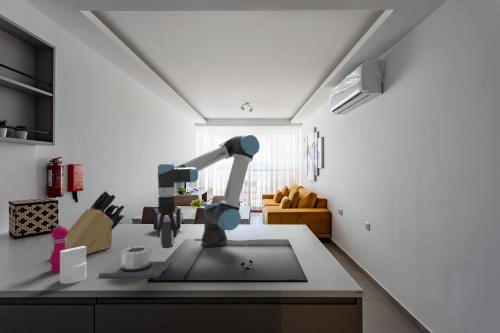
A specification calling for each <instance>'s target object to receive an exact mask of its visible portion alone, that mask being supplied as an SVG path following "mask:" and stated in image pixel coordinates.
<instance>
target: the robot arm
mask: <svg viewBox="0 0 500 333" xmlns="http://www.w3.org/2000/svg"><path fill="white" fill-rule="evenodd" d="M259 151H260V142H259V140H258V138H257V137H256V136H255V135H253V134H248V133H247V134H243V135H238V136H237V135H236V136H233V137H231V138H229V139H227V140H226V141H224V142H222V143H220V144H218V147H216V148H213V149H212V150H209V151H207V152H204V153H203V154H201V155H199V156H197V157H194V158H193V159H190V160H189V161H186V162H184V163H182V164H179V165H178V166H176V167H175V165H174V163H159V165H158V167H157V184H158V186H157V195H158V197H157V198H158V199H157V200H158V206H157V207H156V208H152V210H151V211H152V214H153V230H154V231H157V237H158V239H159V246H162V222H163V221H164V217H165V215H168V216H169V218H170V221H171V225H172V229H173V231H171V237H172V245H173V246H174V245H175V243H176V237H177V235H178V230H180V229H181V225H180V212H182V208H181V207H180V208H178V207H176V204H175V203H176V201H175V200H176V199H175V194H176V193H175V184H181V183H183V184H184V183H185V184H187V183H190V184H191V183H195V182H197V181H198V179H199V172H200V171H202V170H204V169H206V168H209V167H210V166H212V165H215V164H216V163H218V162H220V161H222V160H224V159H225V160H228V159H230V158H233V162H232V165H231V170H230V173H229V176H228V179H227V184H226V188H225V191H224V194H223V198H222V200H220V201H219V203H210V204H209V203H207V204H205V205H204V206H203V207H204V208H203V212H204V214H203V215H204V218H203V220H204V222H203V223H204V225H203V226H204V227H203V228H204V229H203V230H204V231H203V233H202V236H201V241H200V242H201V243H202V244H203V246H204V247H220V246H221V247H222V246H225V245H227V244H228V237H227V232H226V231H233V230H235V229H237V227H239V225H240V223H241V219H242V218H241V213H240V205H239V201H240V198H241V194H242V191H243V190H242V189H243V187H244V183H245V178H246V174H247V172H248V167H249V164H250V163H251V162H253V160H254V155H256V154H258V152H259ZM173 212H176V223H175V220H174V215H173ZM158 213H161V215H160V221H159V225H158ZM176 226H177V227H176ZM201 243H200V244H201ZM202 244H201V245H202Z"/></svg>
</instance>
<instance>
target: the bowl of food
mask: <svg viewBox="0 0 500 333" xmlns="http://www.w3.org/2000/svg"><path fill="white" fill-rule="evenodd" d="M160 215H161V213H160V212H158V225H159V221H160ZM173 215H174V220H175V223H176V211H174V212H173ZM183 217H184V212H182V211H181V212H180V226H181V225H182V221H183ZM164 221H170V218H169V216H168V215H165V217H164ZM176 227H177V226H176Z"/></svg>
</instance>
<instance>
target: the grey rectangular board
mask: <svg viewBox="0 0 500 333" xmlns="http://www.w3.org/2000/svg"><path fill="white" fill-rule="evenodd" d="M170 262H171V261H153V260H152V263H151V267H150V268H148V269H146V270H143V271H139V272H124V271H122V270H121V260H118V261H116V262H115V263H113V264H111V265H110V266H108V267H107V268H105V269H103V270H102V271H101V272H99V273H98V274H99V276H98V277H99V278H141V279H142V278H145V279H147V278H148V279H149V278H150V279H151V278H152V279H156V278H159V277H160V276H161V275H162V274H163V273H164V272H163V271H166V270H167V268H168V267H170ZM162 272H163V273H162Z"/></svg>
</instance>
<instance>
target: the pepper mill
mask: <svg viewBox="0 0 500 333" xmlns="http://www.w3.org/2000/svg"><path fill="white" fill-rule="evenodd" d="M68 231H69V230H68V229H67V228H66V227H63V224H62V223H58V224H57V227H55V228H54V229H52V230H51V233H50V234H51V238H52V244H53V249H54V250H53V249H52V250H53V253H52V254H51V255H50V257H49V263H50V265H51V267H50V271H51V273H60V251H62V250H66V246H65V242H66V241H67V240H66V239H67V238H66V236H67V235H68Z"/></svg>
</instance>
